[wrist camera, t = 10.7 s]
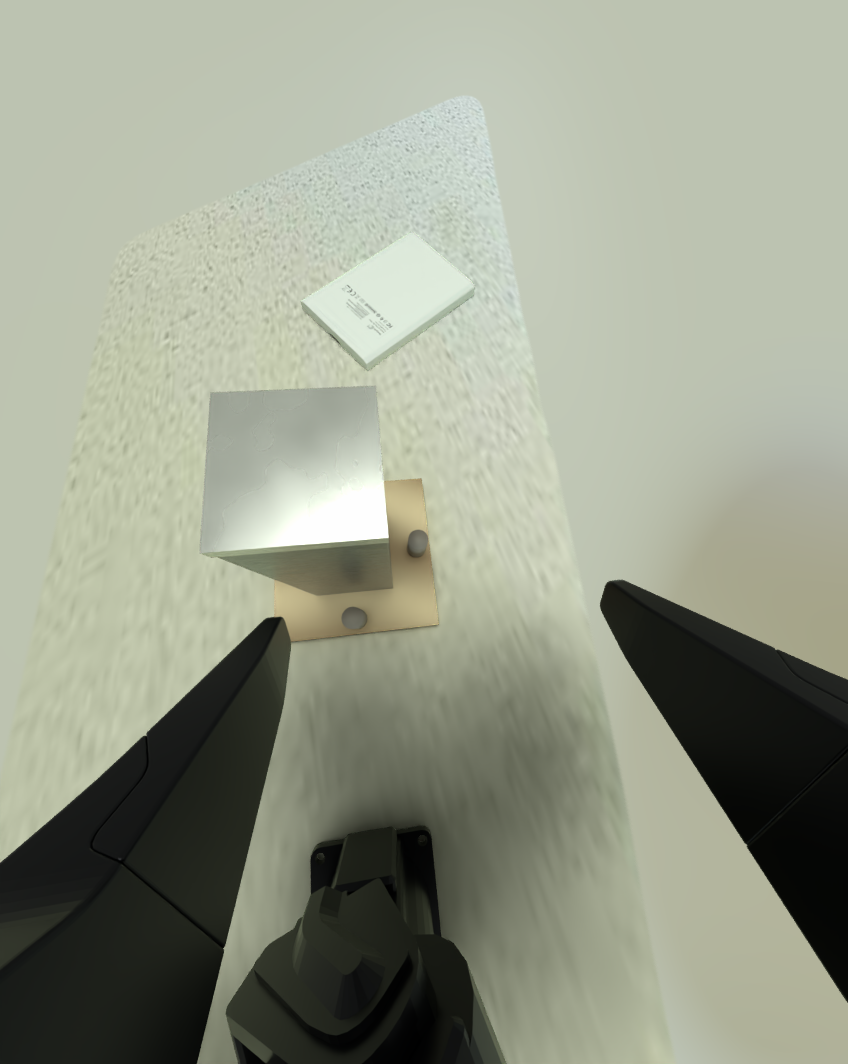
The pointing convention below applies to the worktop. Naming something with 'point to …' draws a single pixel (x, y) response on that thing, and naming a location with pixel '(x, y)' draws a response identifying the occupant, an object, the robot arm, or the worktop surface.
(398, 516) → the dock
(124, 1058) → the robot arm
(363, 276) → the external hard drive
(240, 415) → the tower
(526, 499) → the worktop surface
